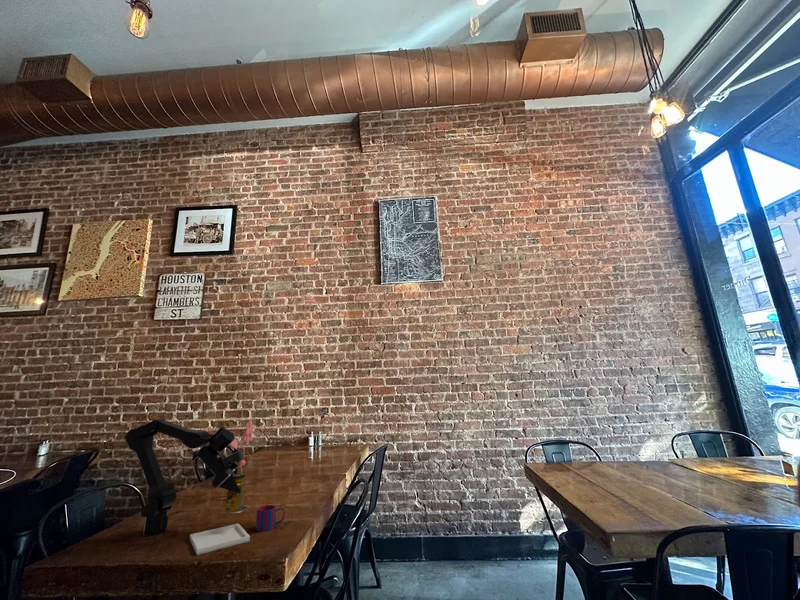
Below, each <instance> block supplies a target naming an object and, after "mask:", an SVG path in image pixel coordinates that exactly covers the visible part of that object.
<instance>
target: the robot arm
mask: <svg viewBox="0 0 800 600" xmlns="http://www.w3.org/2000/svg"><path fill="white" fill-rule="evenodd" d="M158 433H161V434H163V435H166V436H169V437H172V438H174V439H176V440H179V441H181V442H182V445H184V446H186V448H189V450H194V449H197V448H198V449H199V450H195V451H193V452H192V458H191V461H193V462H194V461H195V460H196V459H199V460H200V461H201V463H203V464H204V465H205V466H206V470H207V471H211V473H212V474H214V479H212V480H211V486H212V487H213V488H214V489H217V488H219V489H220V488H221V489H224V490H230V491H233V492H236V493H240V492H241V490H240V488H239V486H238V485H237V483H236V482H235V480H234V478H233V477H234V474H239V468H240V467H239V466H240V464H239V463H240V461H241V460H243V458H244V459H245V455H244V451H242V449H239V448H237V449H235V448H234V449H233V450H232V451H231V453H230V454H229V455H225V454H221V453H220V452H223V451H224V450H225V449H227V447H229V445H231V444H230V443H231V442H232V441H233V440H234V439H236V437H235V435H234V433H233V432H231V430H229V429H227V428H225V427H224V426H223V427H219V428H218V430H217V431H216V432H215V433H214V434H210V432H209V431H207V430H203V429H202V430H201V429H191V428H188V427H185V426H181V425H179V424H176V423H173V422H171V421H167V420H166V419H163V418H159V419H153V420H151V421H149V422H148V423H146V424H143V425H140V426H138V427H137V428H136V427H135V428H132V429H129V430H128V431H127V433H126V434H125V437H124V440H125V442H126V444H127V446H128V448H129V449H130V450H132V451H133V452H134V453H135V454H136V455H137V458H138V460H139V464H140V466H141V469H142V471H143V474H144V477H145V480H146V482H147V485H148V488H149V490H148V494H147V500H148V501H147V504H146V505H145V506H144V507H143V508H142V509H141V510H140V513H141V514H140V515H141V518H145V519H144V520H145V521H144V527H143V530H142V533H143V535H142V536H143V537H149V536H155V535H158V534H163V533H166V529H167V528H168V522H169V521H168V520H169V515H168V511H170V510H171V509H172V507H173V505H174V503H176V499H177V498H178V496H177V492H178V491H177V489H176V487H175V484H174V482H173V481H172V482H169V483H168V482H167V481H166V480H165V478H164V475H163V473H162V470H161V467H160V465H159V462H158V460H157V457H156V454H155V452H154V448H153V443H154V436H156V435H158ZM243 455H244V456H243ZM238 461H239V462H238Z"/></svg>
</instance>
